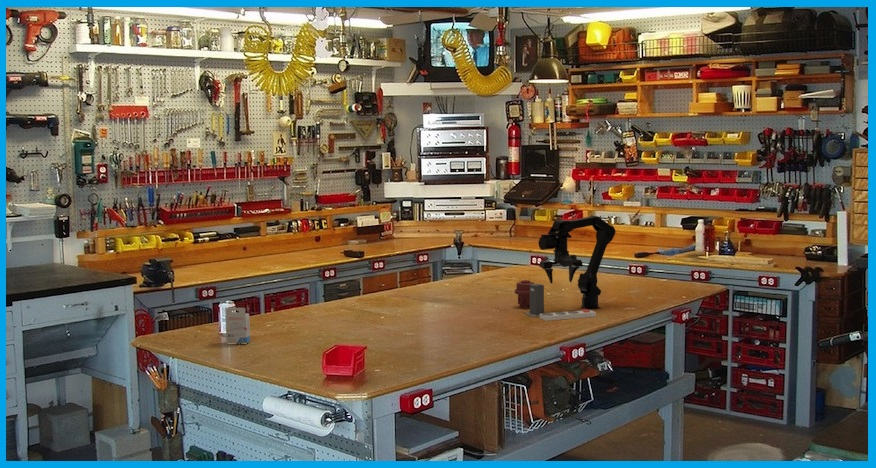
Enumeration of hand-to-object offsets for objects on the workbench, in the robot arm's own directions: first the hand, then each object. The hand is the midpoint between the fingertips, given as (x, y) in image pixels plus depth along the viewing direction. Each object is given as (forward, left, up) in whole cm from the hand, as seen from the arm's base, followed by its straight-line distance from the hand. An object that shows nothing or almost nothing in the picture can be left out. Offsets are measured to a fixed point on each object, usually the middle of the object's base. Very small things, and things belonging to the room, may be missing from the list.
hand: (561, 282), depth 461 cm
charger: (+13, +3, -13) cm, 18 cm away
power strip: (+3, +14, -13) cm, 19 cm away
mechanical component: (+11, -15, -13) cm, 23 cm away
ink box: (+145, +14, -13) cm, 146 cm away
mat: (+13, +3, -13) cm, 19 cm away
